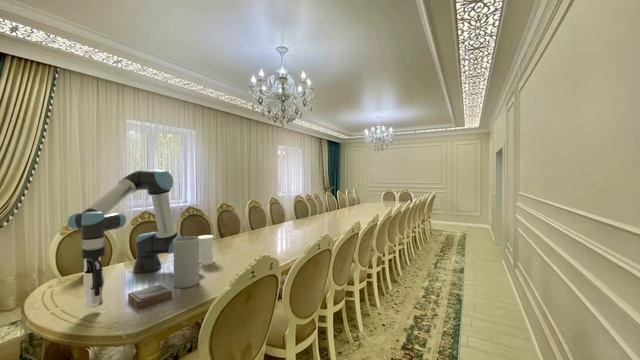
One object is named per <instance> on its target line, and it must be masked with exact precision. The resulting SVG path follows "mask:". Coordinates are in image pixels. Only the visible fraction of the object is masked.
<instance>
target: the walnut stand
mask: <svg viewBox="0 0 640 360" xmlns="http://www.w3.org/2000/svg"><path fill="white" fill-rule="evenodd" d="M127 296H128V298H127V300H128V302H129V303H130V304H131V305H132V306H134V308H136V309H137V310H138V311H140V309H141V310H144V309H147V308H149V307H152V306H155V305H157V304H161V303H164V302H167V301H171V300H173V290H170V289H169V288H168V287H165V286H164V285H162V284H157V285H153V286H150V287H146V288H142V289H139V290H136V291H132V292H128V295H127Z"/></svg>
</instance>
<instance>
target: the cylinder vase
mask: <svg viewBox="0 0 640 360" xmlns="http://www.w3.org/2000/svg"><path fill="white" fill-rule="evenodd" d="M199 282H200V272H199V237H198V236H194V235H193V236H189V235H188V236H182V237H180V238H176V239H174V253H173V287H175V288H177V289H186V288H190V287H191V288H192V287H193V286H194V287H195V286H196V285H197V284H199Z"/></svg>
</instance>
